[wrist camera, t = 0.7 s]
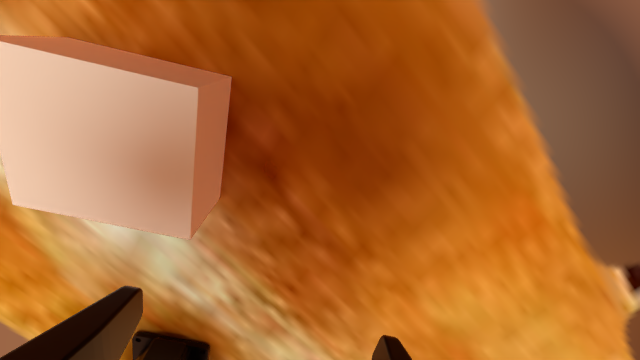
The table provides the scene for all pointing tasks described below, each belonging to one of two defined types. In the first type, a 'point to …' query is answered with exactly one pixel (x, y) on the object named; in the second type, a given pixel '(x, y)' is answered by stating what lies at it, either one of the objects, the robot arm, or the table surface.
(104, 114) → the block
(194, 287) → the table surface
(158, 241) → the table surface
